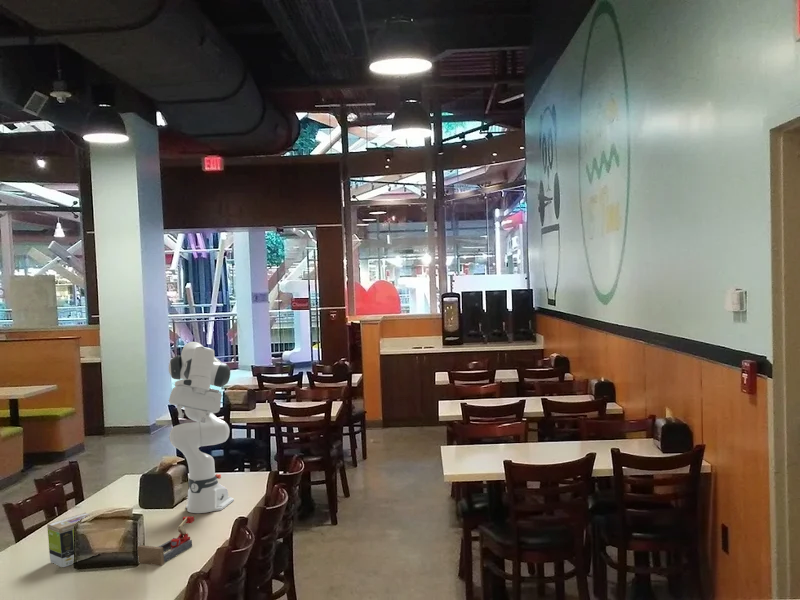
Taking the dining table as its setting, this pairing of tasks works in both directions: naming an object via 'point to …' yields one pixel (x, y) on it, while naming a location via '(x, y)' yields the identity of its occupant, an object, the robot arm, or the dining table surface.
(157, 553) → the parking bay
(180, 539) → the red beige jointed figure
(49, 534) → the tea box
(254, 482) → the dining table surface
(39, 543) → the dining table surface
